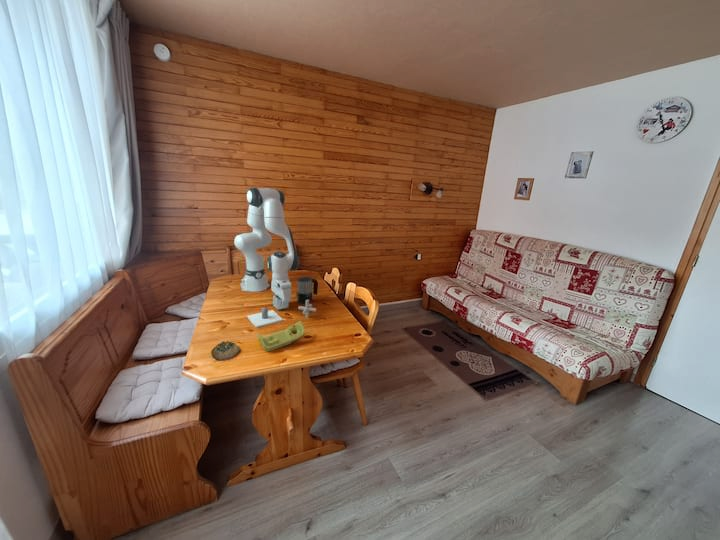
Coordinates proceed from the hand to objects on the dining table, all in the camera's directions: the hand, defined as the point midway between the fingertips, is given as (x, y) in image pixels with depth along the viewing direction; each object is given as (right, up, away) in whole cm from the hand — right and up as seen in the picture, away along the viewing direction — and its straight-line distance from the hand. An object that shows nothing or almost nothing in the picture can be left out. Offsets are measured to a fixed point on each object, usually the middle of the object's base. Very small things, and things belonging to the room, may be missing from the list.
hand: (280, 303), depth 161 cm
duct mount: (-5, -7, -13) cm, 16 cm away
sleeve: (0, -2, +1) cm, 2 cm away
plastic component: (+10, -14, -33) cm, 38 cm away
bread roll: (-11, -16, -43) cm, 48 cm away
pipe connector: (+17, -7, -8) cm, 20 cm away
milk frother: (+10, +1, +17) cm, 20 cm away
